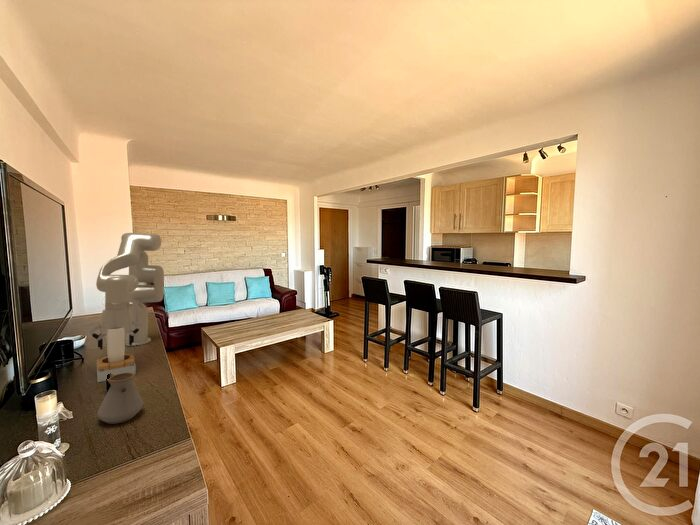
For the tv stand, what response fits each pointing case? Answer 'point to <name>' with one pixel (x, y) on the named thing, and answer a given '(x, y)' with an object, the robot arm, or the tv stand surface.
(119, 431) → the tv stand surface
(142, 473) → the tv stand surface
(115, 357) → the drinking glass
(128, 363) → the octagon ring knob plate
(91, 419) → the tv stand surface
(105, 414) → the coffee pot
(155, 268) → the robot arm
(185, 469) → the tv stand surface
